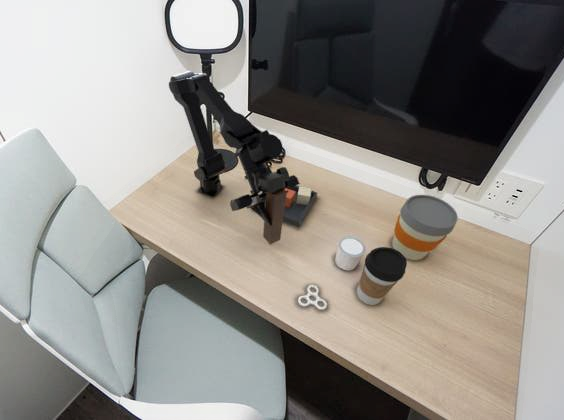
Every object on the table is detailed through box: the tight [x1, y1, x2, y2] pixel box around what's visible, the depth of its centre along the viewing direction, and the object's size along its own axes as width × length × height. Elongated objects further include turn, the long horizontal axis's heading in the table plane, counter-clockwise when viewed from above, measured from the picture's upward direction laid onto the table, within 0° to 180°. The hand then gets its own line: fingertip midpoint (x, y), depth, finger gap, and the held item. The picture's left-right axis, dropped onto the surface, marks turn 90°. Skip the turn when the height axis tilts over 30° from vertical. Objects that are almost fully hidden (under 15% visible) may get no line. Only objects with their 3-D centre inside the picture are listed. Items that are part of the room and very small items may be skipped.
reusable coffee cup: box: [391, 194, 459, 261], centre depth 85 cm, size 13×13×15 cm
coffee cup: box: [356, 246, 408, 306], centre depth 74 cm, size 8×8×15 cm
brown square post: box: [262, 188, 287, 246], centre depth 82 cm, size 4×4×18 cm
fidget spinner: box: [297, 284, 328, 311], centre depth 79 cm, size 7×6×1 cm
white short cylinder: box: [334, 236, 366, 271], centre depth 85 cm, size 7×7×7 cm
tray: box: [260, 185, 318, 228], centre depth 103 cm, size 16×16×3 cm
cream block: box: [296, 186, 313, 205], centre depth 103 cm, size 4×4×4 cm
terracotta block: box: [285, 188, 296, 208], centre depth 102 cm, size 4×4×4 cm
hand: (276, 223), depth 83 cm, fingers closed on brown square post, 3 cm apart
